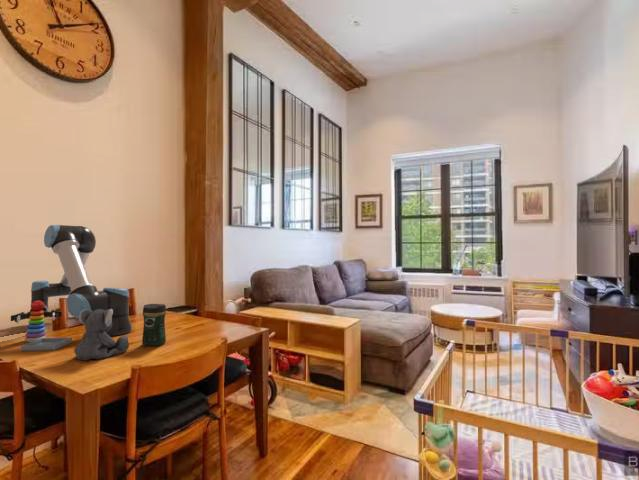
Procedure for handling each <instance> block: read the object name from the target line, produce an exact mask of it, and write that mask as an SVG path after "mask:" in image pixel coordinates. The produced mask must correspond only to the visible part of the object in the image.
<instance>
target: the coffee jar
mask: <svg viewBox="0 0 639 480" xmlns="http://www.w3.org/2000/svg"><path fill="white" fill-rule="evenodd" d="M166 314H167V307H166V305H165V304H164V303H163V304H161V303H148V304H144V305H143V307H142V316H143V331H142V340H141V341H142V342H141V343H142V344H141V345H143V346H146V347H156V346H162V345H164V344H165V343H166V342H167V339H166V338H167V337H166V336H167V335H166V325H165V321H166V320H165V319H166Z"/></svg>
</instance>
